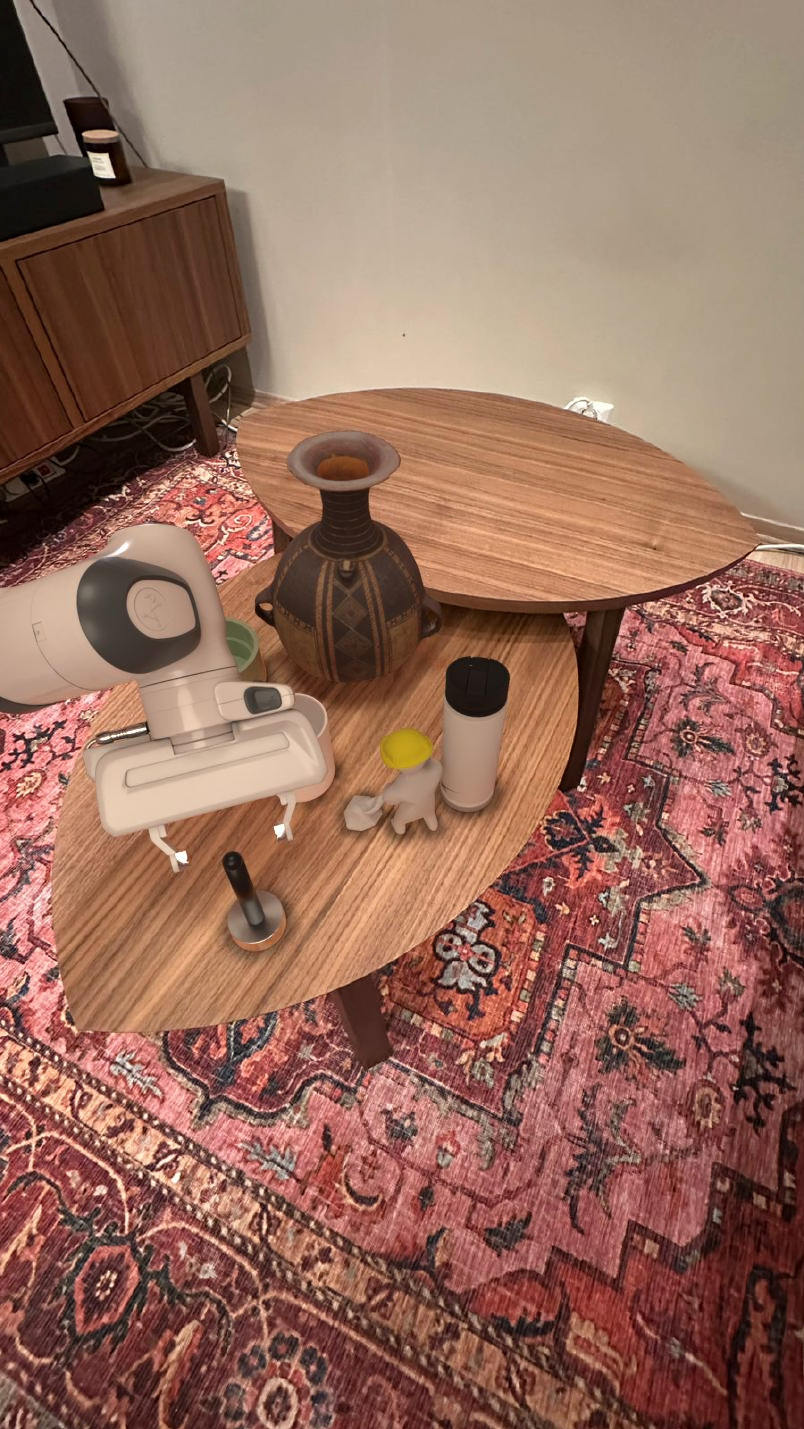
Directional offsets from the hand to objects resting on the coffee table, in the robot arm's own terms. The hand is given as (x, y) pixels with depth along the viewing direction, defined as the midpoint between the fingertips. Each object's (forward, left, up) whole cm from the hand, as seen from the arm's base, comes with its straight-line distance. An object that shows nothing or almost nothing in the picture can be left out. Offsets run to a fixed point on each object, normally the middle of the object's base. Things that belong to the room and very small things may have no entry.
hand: (235, 854), depth 63 cm
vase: (+25, +28, -11) cm, 39 cm away
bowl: (+7, +32, -11) cm, 35 cm away
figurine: (+18, +3, -11) cm, 21 cm away
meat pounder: (0, -2, -11) cm, 11 cm away
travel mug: (+27, +2, -11) cm, 29 cm away
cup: (+9, +13, -11) cm, 19 cm away
